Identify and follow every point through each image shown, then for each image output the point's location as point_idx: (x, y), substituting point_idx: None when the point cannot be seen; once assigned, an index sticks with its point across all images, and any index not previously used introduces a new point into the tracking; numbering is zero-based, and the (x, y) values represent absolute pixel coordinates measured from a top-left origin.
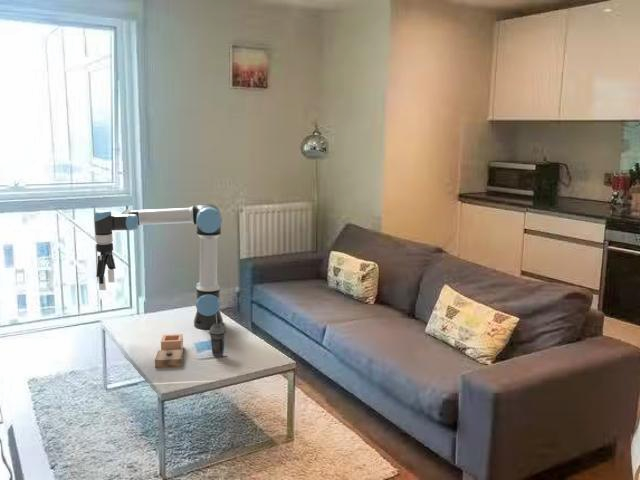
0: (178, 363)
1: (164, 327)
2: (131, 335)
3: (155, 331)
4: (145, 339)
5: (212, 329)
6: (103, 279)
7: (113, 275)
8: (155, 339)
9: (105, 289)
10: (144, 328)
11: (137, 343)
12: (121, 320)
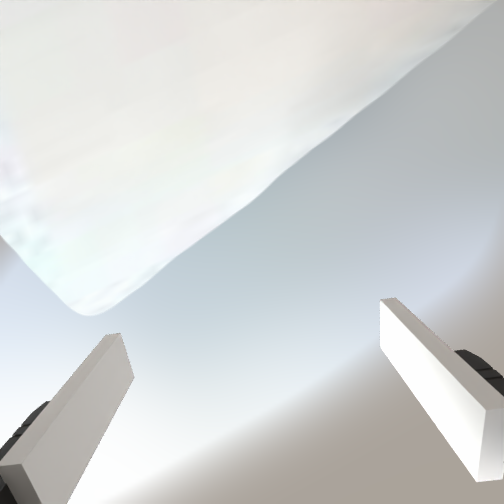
0: None
1: (89, 58)
2: (207, 164)
3: (145, 81)
4: (240, 87)
5: None
6: (474, 385)
7: (80, 387)
8: (234, 41)
9: (388, 300)
10: (124, 144)
11: (285, 103)
12: (68, 269)
